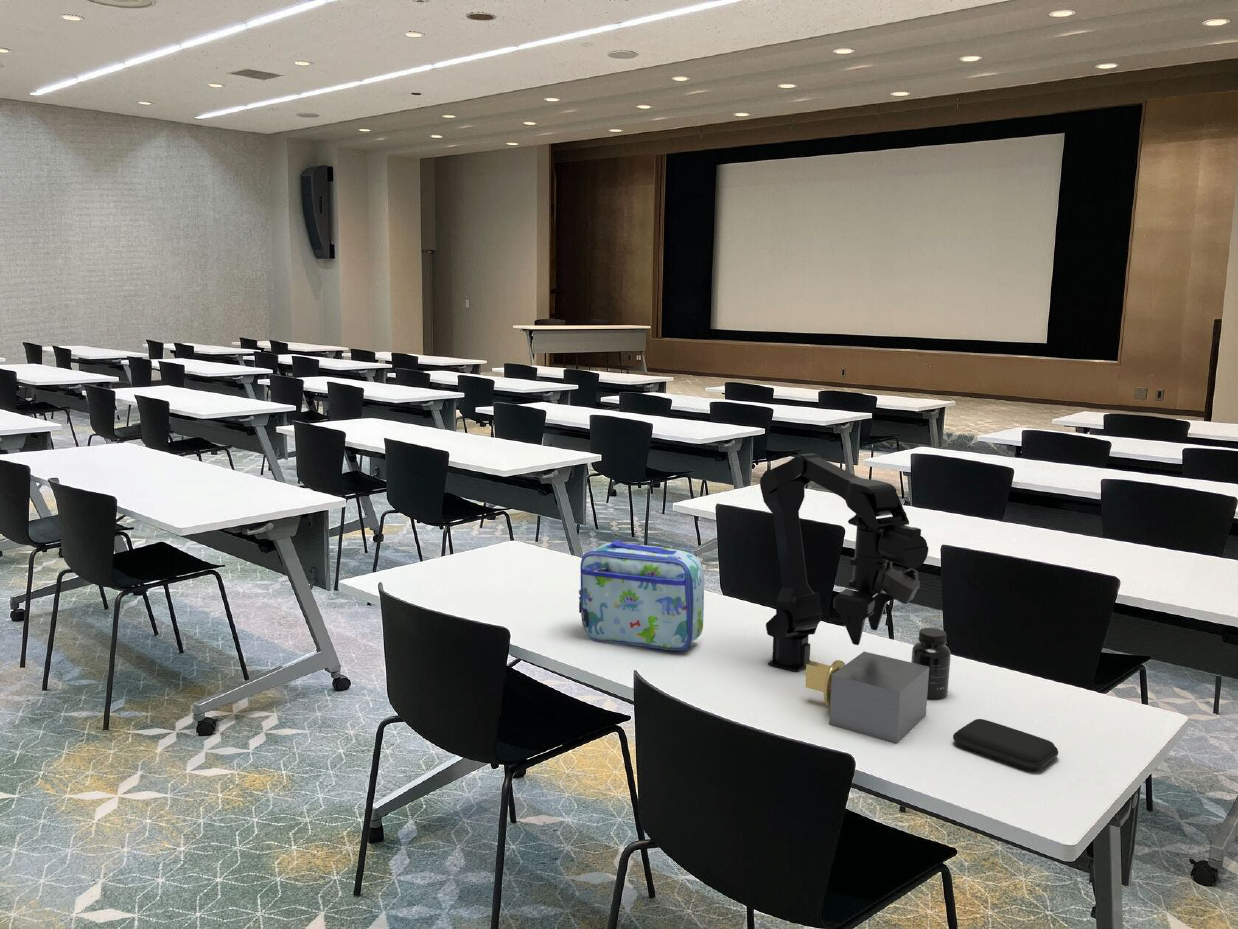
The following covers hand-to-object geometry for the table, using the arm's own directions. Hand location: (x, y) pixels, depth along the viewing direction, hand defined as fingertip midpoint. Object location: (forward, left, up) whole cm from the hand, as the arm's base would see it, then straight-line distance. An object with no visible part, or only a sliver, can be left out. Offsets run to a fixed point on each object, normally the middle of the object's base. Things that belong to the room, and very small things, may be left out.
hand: (865, 637), depth 177 cm
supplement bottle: (+9, +11, -12) cm, 18 cm away
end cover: (-3, -6, -12) cm, 13 cm away
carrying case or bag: (+27, -4, -13) cm, 30 cm away
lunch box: (-49, 0, -12) cm, 51 cm away
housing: (+6, -6, -12) cm, 15 cm away
